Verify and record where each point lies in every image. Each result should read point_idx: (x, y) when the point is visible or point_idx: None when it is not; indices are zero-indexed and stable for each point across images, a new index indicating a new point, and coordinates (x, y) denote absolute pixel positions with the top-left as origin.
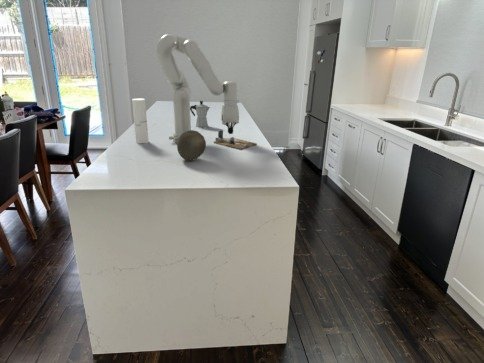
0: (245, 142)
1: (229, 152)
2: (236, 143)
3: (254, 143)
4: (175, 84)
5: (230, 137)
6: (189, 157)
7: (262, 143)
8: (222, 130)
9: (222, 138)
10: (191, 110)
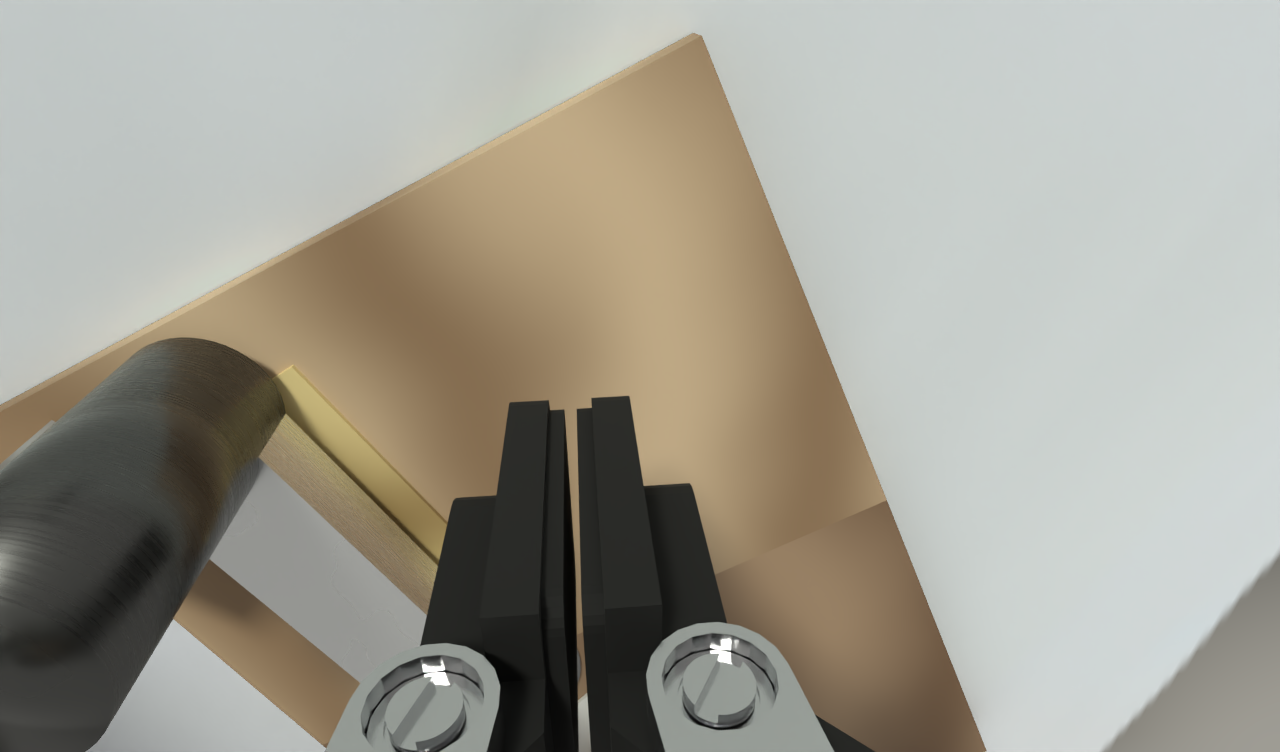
0: (821, 666)
1: None
2: (583, 706)
3: (944, 748)
4: None
5: (689, 70)
6: None
7: (1132, 677)
8: (86, 718)
9: (231, 530)
10: None
